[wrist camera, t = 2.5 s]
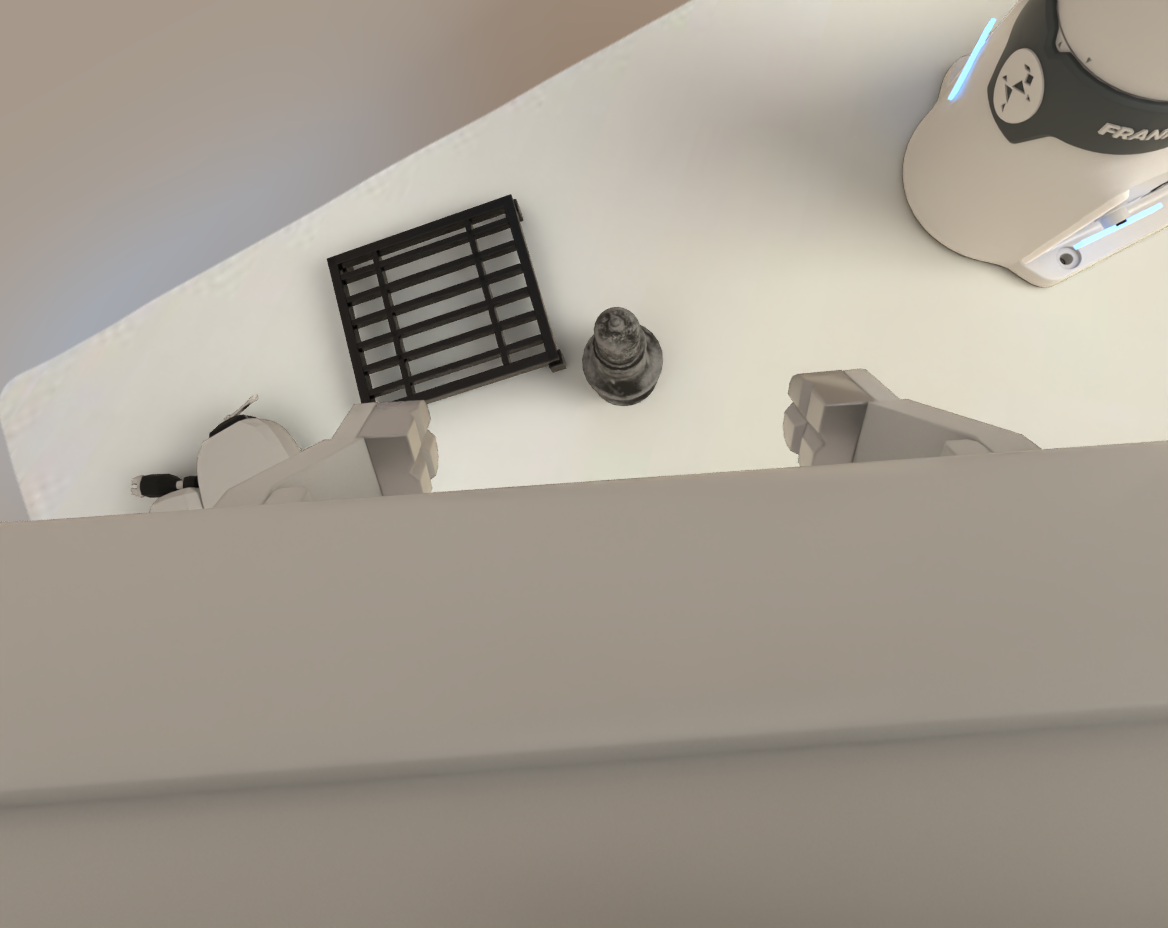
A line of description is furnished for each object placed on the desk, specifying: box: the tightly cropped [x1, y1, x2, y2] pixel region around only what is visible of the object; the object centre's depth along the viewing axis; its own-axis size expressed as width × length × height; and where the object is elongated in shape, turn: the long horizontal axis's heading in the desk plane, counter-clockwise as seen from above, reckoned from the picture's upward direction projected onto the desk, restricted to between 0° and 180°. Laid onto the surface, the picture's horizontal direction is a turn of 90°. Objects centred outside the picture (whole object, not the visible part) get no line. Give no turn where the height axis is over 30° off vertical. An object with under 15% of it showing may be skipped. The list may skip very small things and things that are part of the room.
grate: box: [327, 194, 566, 404], centre depth 45 cm, size 16×14×2 cm
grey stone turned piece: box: [582, 307, 663, 406], centre depth 38 cm, size 6×6×12 cm
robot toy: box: [131, 395, 301, 513], centre depth 45 cm, size 12×4×15 cm
